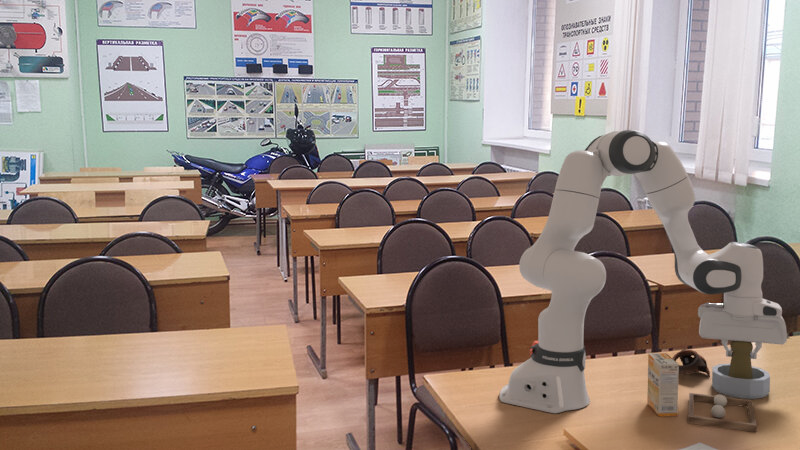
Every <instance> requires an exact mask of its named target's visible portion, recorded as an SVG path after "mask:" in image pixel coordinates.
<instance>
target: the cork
mask: <svg viewBox="0 0 800 450" xmlns="http://www.w3.org/2000/svg"><path fill="white" fill-rule="evenodd" d="M730 349H731V350H732V357H730V358H731V360H730V363H729V364H730V369H729V374H728V376H730V377H734V378H740V379H753V374H752V366H753V365H752V359H750V353H751V352H752V351H753V350H754V346H753V342H745V341H733V340H730Z"/></svg>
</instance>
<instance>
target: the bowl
mask: <svg viewBox="0 0 800 450" xmlns="http://www.w3.org/2000/svg"><path fill="white" fill-rule="evenodd" d="M711 368H712V369H711V370H712V371H711V372H712V375H711V377H712V378H711V383H712V384H711V386H712V389H713V391H715V392H717V393H719V394H720V395H724V396H726V397H729V398H738V399H747V400H758V399H763V398H766V397H767V396H769V393H770V391H771V389H770V388H771V387H770V386H771V375H770V373H769V371H767V370H765V369H763V368H760V367H757V366H754V365H752V374H753V379H740V378H734V377H730V376H728V374H729V369H730V363H720V364H717V365H714V366H712V367H711Z"/></svg>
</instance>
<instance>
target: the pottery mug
mask: <svg viewBox="0 0 800 450" xmlns="http://www.w3.org/2000/svg"><path fill="white" fill-rule="evenodd" d="M671 358H672V359H673V360H675V361H676V362H677V361H678V359H679V360H680V362H681V364H682V365H681V364H679V375H683V376H686V375H690V374H693V373H696V374H700V372H701V373H705V374H707V377H708V378H710V377H711V375H710V374H711V373H710V369H709V367H708V363H707V360H706V359H705V357H704V356H702V355H701V354H699V353H698V352H697V351H696V350H694V349H687V348H683V349H681V350H680V351H678V352H677V353H675V354H674V355H673V356H672V357H671Z"/></svg>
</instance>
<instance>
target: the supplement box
mask: <svg viewBox="0 0 800 450" xmlns="http://www.w3.org/2000/svg"><path fill="white" fill-rule="evenodd" d="M647 354H648V355H647V361H648V362H647V399H646V400H647V402H646V403H647V405H648V406H649V407H650V408H652V410H653V411H654V412H655V414H656V415H657V416H658V417H677V416H678V411H679V410H678V407H679V406H678V405H679V404H678V403H679V399H678V398H679V365H680V364H679V363H678V362H677V360H676V361H675V360H673V359H672V358H673V357H671V356H670V354H668V353H667V352H660V353H659V352H656V353H655V352H653V353H651V352H650V353H649V352H648V353H647Z"/></svg>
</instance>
